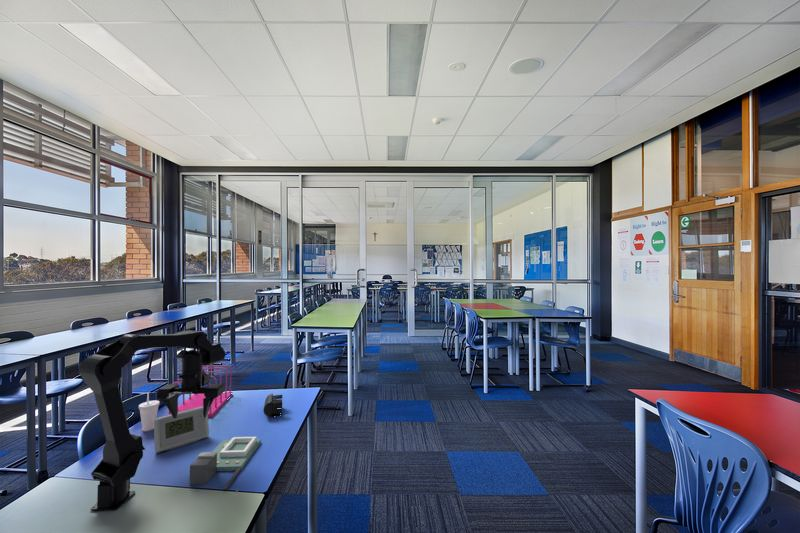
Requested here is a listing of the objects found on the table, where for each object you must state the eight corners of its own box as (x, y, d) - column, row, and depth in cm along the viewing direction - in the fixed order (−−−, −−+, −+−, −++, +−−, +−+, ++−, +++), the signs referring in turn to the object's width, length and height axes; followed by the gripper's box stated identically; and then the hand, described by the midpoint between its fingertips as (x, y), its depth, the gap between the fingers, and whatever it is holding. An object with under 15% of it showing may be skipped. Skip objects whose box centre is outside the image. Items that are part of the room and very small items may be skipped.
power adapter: (265, 409, 140) (265, 394, 141) (282, 407, 143) (282, 392, 143) (263, 419, 131) (263, 402, 131) (281, 417, 133) (281, 400, 133)
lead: (227, 490, 88) (227, 486, 88) (223, 490, 88) (223, 486, 88) (245, 464, 100) (245, 461, 100) (242, 464, 100) (242, 461, 100)
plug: (205, 484, 91) (206, 463, 91) (189, 485, 90) (189, 463, 91) (216, 471, 97) (217, 451, 97) (201, 471, 96) (201, 451, 97)
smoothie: (133, 431, 120) (134, 394, 120) (150, 423, 126) (151, 388, 126) (146, 433, 118) (147, 396, 119) (163, 425, 125) (164, 390, 125)
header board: (241, 470, 97) (241, 461, 97) (197, 471, 96) (197, 462, 96) (260, 442, 113) (260, 434, 113) (223, 443, 112) (223, 435, 112)
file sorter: (165, 420, 129) (166, 382, 129) (194, 397, 154) (195, 364, 154) (211, 418, 132) (212, 380, 132) (232, 395, 157) (233, 363, 157)
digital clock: (152, 455, 104) (152, 423, 105) (154, 443, 112) (155, 413, 112) (209, 441, 113) (210, 411, 114) (208, 431, 121) (209, 403, 121)
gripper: (232, 362, 113) (230, 406, 113) (176, 363, 111) (174, 408, 111) (217, 371, 102) (216, 420, 101) (155, 372, 100) (153, 422, 100)
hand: (190, 417), depth 104 cm, fingers open, 9 cm apart
